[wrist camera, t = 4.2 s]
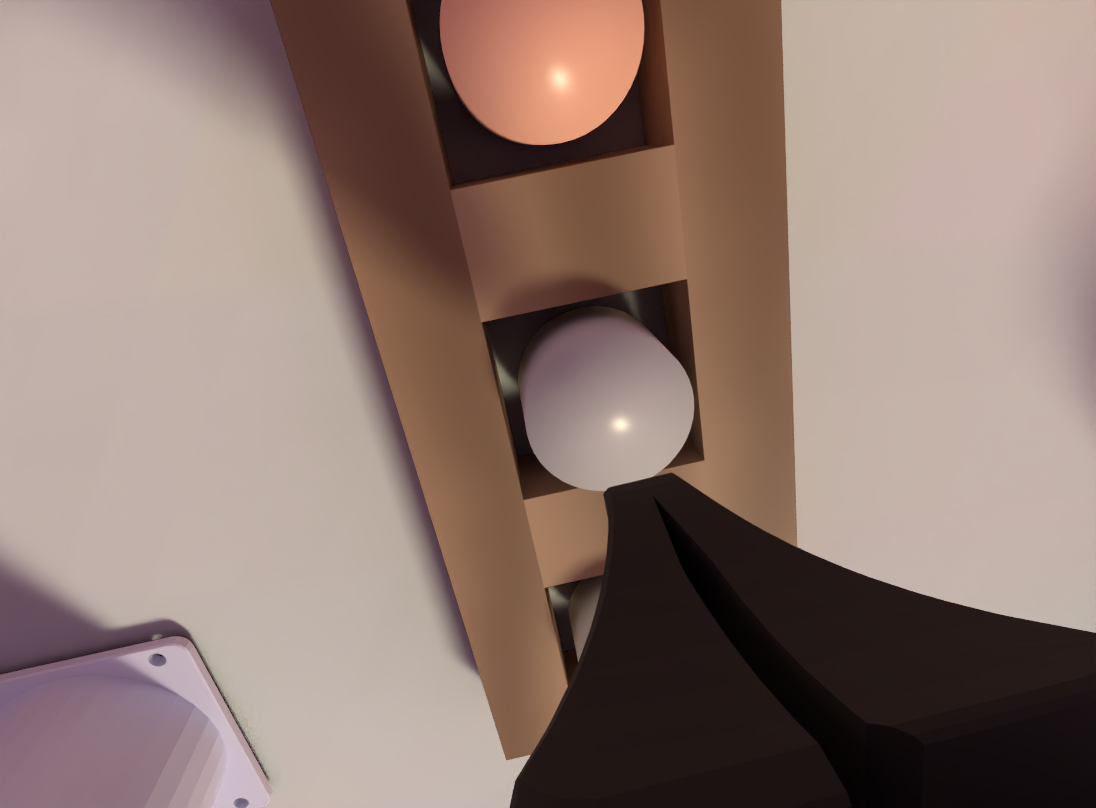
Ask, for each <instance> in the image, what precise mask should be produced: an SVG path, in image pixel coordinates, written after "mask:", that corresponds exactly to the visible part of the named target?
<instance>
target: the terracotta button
mask: <svg viewBox="0 0 1096 808" xmlns="http://www.w3.org/2000/svg"><path fill="white" fill-rule="evenodd" d="M440 38H441V44H442V51H443V55H444V59H445V62H446V66H447V69H448V72H449V75H450V78H451V81H452V83H453V85H454V88H455V90H456V93H457V95H458V96H459V98H460V100H461V102H462V104H463V105H464V106H465V108H466V109H467V110H468V112H469V113H470V114H471V115H472V117H473V118H474V119H475V120H476V121H477V122H478V123H479V124H481V125H482V126H483V127H484V128H485V129H487V130H488V131H490V132H491V133H493V134H494V135H496V136H498V137H500V138H503V139H505V140H507V141H511V142H514V143H518V144H525V145H549V144H557V143H563V142H567V141H570V140H574V139H576V138H578V137H581V136H583V135H585V134H587V133H589V132H590V131H592V130H594V129H595V128H597V127H598V126H599V125H600V124H602V123H603V122H604V121H605V120H607V119H608V118H609V116H610V115H611V114H612V113H613V112H614V111H615V110H616V109H617V108H618V106H619V105H620V104H621V102H622V101H623V100H624V98H625V96H626V95H627V93H628V91H629V89H630V87H631V85H632V83H633V81H634V78H635V76H636V74H637V70H638V67H639V64H640V60H641V55H642V50H643V44H644V13H643V7H642V0H442V2H441V10H440Z"/></svg>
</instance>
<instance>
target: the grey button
mask: <svg viewBox="0 0 1096 808" xmlns="http://www.w3.org/2000/svg"><path fill="white" fill-rule="evenodd" d="M518 385H519V392H520V398H521V403H522V409H523V414H524V420H525V425H526V431H527V436H528V439H529V442H530V445H531V447H532V450H533V452H534V454H535V455H536V457H537V458H538V460H539V461H540V463H541V464H542V465H543V466H544V467H545V468H546V469H547V470H548V471H549V472H550V473H551V474H553V475H554V476H555V477H557V478H558V479H560V480H561V481H563V482H565V483H567V484H570V485H572V486H575V487H578V488H581V489H586V490H592V491H606V490H607V488H608V487H612V486H617V485H621V484H625V483H629V482H633V481H638V480H642V479H646V478H650V477H653V476H654V475H656V474H657V473H659V472H660V471H661V470H662V469H664V468H665V467H666V466H667V465H668V464H669V463H670V462H671V461H672V460H673V459H674V458H675V457H676V455H677V454H678V452H679V451H680V450H681V448H682V447H683V445H684V443H685V441H686V439H687V437H688V434H689V432H690V429H691V425H692V421H693V416H694V396H693V390H692V386H691V383H690V380H689V378H688V376H687V374H686V372H685V370H684V368H683V367H682V366H681V364H680V363H679V361H678V360H677V359H676V358H675V357H674V356H673V355H672V354H671V353H670V352H669V351H668V350H667V349H666V348H665V347H664V346H663V344H662V343H661V342H660V341H659V340H658V339H657V338H656V337H655V336H654V335H653V334H652V333H651V332H650V331H649V330H648V329H647V328H646V327H645V326H644V325H643V324H642V323H641V322H640V321H639V320H637V319H636V318H635V317H633V316H631V315H629V314H628V313H625V312H623V311H620V310H618V309H614V308H610V307H602V306H589V307H582V308H577V309H574V310H570V311H568V312H565V313H563V314H561V315H559V316H557V317H555V318H554V319H552V320H551V321H549V322H548V323H547V324H545V325H544V326H543V327H542V328H541V329H540V330H539V331H538V332H537V333H536V334H535V336H534V337H533V338H532V339H531V341H530V343H529V344H528V346H527V348H526V350H525V352H524V354H523V357H522V360H521V363H520V367H519V375H518Z"/></svg>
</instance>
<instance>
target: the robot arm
mask: <svg viewBox="0 0 1096 808" xmlns="http://www.w3.org/2000/svg"><path fill="white" fill-rule="evenodd" d="M603 496H604V501H605V506H606V512H607V517H608V541H607V554H606V561H605V567H604V573H603V579H602V584H601V590H600V594H599V598H598V603H597V607H596V610H595V614H594V617H593V621H592V624H591V628H590V631H589V634H588V637H587V639H586V642H585V645H584V648H583V651H582V653H581V656H580V659H579V662H578V664H577V667H576V669H575V671H574V674H573V676H572V678H571V681H570V683H569V685H568V687H567V689H566V691H565V693H564V695H563V697H562V699H561V701H560V703H559V706H558V708H557V710H556V712H555V714H554V716H553V718H552V720H551V722H550V724H549V725H548V727H547V729H546V731H545V733H544V734H543V736H542V738H541V739H540V741H539V743H538V744H537V746H536V748H535V749H534V751H533V753H532V754H531V756H530V758H529V759H528V761H527V763H526V764H525V766H524V767H523V769H522V771H521V772H520V774H519V776H518V777H517V779H516V781H515V785H514V790H513V794H512V799H511V804H510V808H1096V633H1093V632H1088V631H1083V630H1077V629H1072V628H1067V627H1062V626H1056V625H1051V624H1046V623H1041V622H1035V621H1030V620H1025V619H1020V618H1014V617H1009V616H1004V615H1000V614H995V613H991V612H987V611H983V610H979V609H975V608H971V607H967V606H963V605H959V604H955V603H951V602H947V601H943V600H940V599H937V598H933V597H930V596H926V595H923V594H919V593H916V592H912V591H909V590H906V589H903V588H900V587H897V586H894V585H891V584H888V583H885V582H882V581H879V580H876V579H873V578H870V577H867V576H865V575H862V574H859V573H857V572H854V571H851V570H849V569H846V568H844V567H841V566H839V565H836V564H834V563H832V562H829V561H827V560H825V559H822V558H820V557H817V556H815V555H813V554H810V553H808V552H806V551H804V550H802V549H800V548H797V547H795V546H793V545H791V544H789V543H787V542H785V541H783V540H782V539H780V538H778V537H776V536H774V535H772V534H770V533H768V532H766V531H764V530H762V529H761V528H759V527H757V526H755V525H753V524H752V523H750V522H748V521H747V520H745V519H743V518H742V517H740V516H738V515H737V514H735V513H733V512H732V511H730V510H728V509H727V508H725V507H724V506H722V505H721V504H719V503H717V502H716V501H714V500H713V499H711V498H710V497H708V496H707V495H705V494H704V493H702V492H701V491H699V490H698V489H696V488H695V487H693V486H692V485H691V484H689V483H688V482H686V481H685V480H683V479H682V478H680V477H679V476H677V475H675V474H674V473H672V472H671V473H667V474H663V475H659V476H654V477H650V478H646V479H642V480H638V481H633V482H629V483H625V484H621V485H617V486H612V487H608V488H607V490H606V491H605V492H604V494H603ZM157 654H161V655H163V656H164V657H161V656H158V655H157ZM271 794H272V787H271V786H270V784H269V782H268V780H267V778H266V776H265V775H264V773H263V771H262V769H261V767H260V766H259V764H258V762H257V760H256V758H255V756H254V755H253V753H252V751H251V749H250V747H249V745H248V744H247V742H246V740H245V738H244V736H243V735H242V733H241V731H240V729H239V727H238V725H237V724H236V722H235V720H234V718H233V716H232V714H231V713H230V711H229V709H228V707H227V705H226V704H225V702H224V700H223V698H222V696H221V694H220V693H219V691H218V689H217V687H216V685H215V683H214V682H213V680H212V678H211V676H210V674H209V672H208V671H207V669H206V667H205V665H204V663H203V662H202V660H201V658H200V656H199V654H198V652H197V651H196V649H195V647H194V645H193V644H192V643H191V642H190V640H188V639H186V638H184V637H180V636H173V637H167V638H163V639H158V640H154V641H149V642H145V643H140V644H136V645H131V646H127V647H122V648H118V649H113V650H109V651H104V652H100V653H95V654H91V655H86V656H82V657H77V658H73V659H68V660H64V661H59V662H55V663H50V664H46V665H41V666H37V667H32V668H28V669H23V670H19V671H14V672H10V673H5V674H1V675H0V808H261V807H263V806H265V805H267V804H268V803H269V800H270V797H271Z"/></svg>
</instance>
